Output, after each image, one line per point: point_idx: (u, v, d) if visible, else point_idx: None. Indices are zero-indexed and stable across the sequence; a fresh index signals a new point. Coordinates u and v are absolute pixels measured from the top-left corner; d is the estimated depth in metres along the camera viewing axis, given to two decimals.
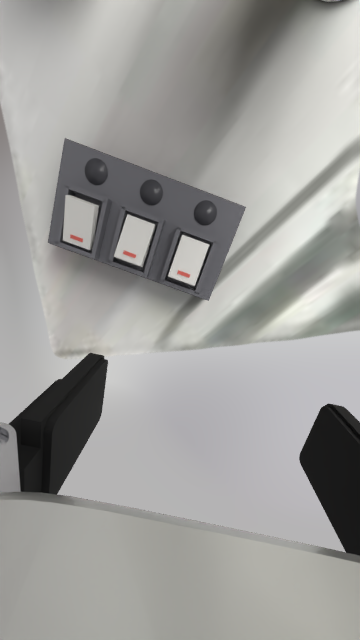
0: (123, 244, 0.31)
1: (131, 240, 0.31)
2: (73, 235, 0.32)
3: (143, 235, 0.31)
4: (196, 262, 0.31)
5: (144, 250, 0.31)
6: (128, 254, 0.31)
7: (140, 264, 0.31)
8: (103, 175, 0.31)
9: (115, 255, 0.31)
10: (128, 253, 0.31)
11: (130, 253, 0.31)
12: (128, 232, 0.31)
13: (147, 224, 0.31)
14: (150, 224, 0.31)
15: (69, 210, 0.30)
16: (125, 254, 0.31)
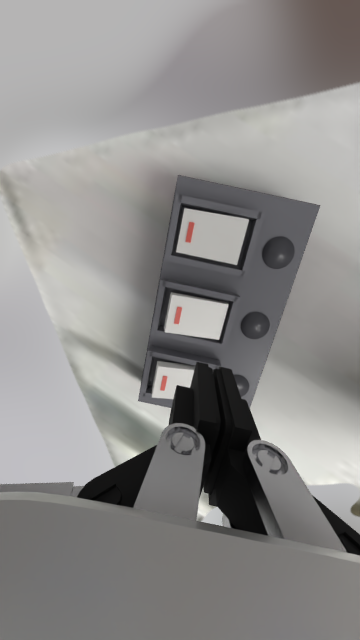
0: (189, 305, 0.23)
1: (195, 314, 0.23)
2: (193, 227, 0.21)
3: (204, 329, 0.24)
4: None
5: (185, 333, 0.23)
6: (177, 313, 0.23)
7: (166, 331, 0.23)
8: (274, 263, 0.23)
9: (173, 296, 0.22)
10: (178, 314, 0.23)
11: (179, 316, 0.23)
12: (206, 309, 0.23)
13: (218, 331, 0.24)
14: (218, 334, 0.24)
15: (227, 223, 0.20)
16: (177, 310, 0.23)
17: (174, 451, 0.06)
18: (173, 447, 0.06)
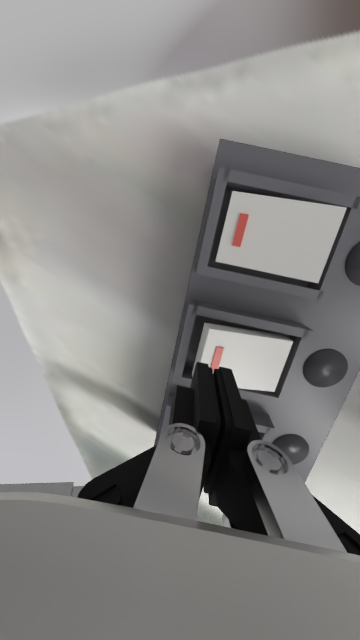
0: (235, 344, 0.14)
1: (243, 357, 0.15)
2: (247, 221, 0.13)
3: (254, 377, 0.16)
4: None
5: None
6: (215, 356, 0.15)
7: None
8: None
9: (211, 331, 0.14)
10: (217, 357, 0.15)
11: (218, 360, 0.15)
12: (259, 349, 0.15)
13: (274, 379, 0.16)
14: (274, 384, 0.16)
15: (307, 215, 0.12)
16: (215, 351, 0.14)
17: (174, 451, 0.06)
18: (173, 447, 0.06)
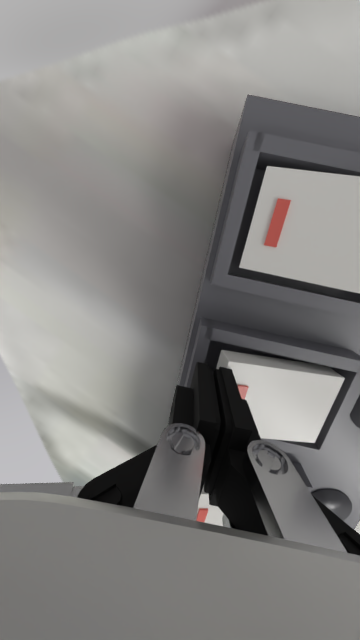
0: (264, 381, 0.10)
1: (275, 398, 0.11)
2: (287, 210, 0.09)
3: (288, 425, 0.11)
4: None
5: None
6: None
7: None
8: None
9: (231, 365, 0.10)
10: None
11: None
12: (297, 388, 0.11)
13: (315, 427, 0.12)
14: (315, 434, 0.12)
15: None
16: None
17: (174, 451, 0.06)
18: (173, 447, 0.06)
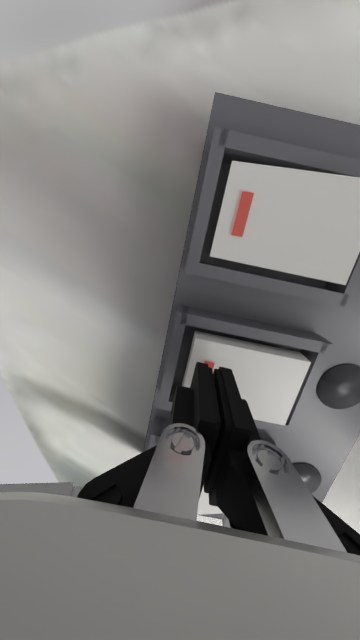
0: (229, 359, 0.11)
1: (241, 377, 0.12)
2: (251, 203, 0.10)
3: (257, 404, 0.12)
4: (208, 505, 0.15)
5: None
6: None
7: None
8: None
9: (198, 342, 0.11)
10: None
11: None
12: (262, 369, 0.12)
13: (284, 410, 0.12)
14: (284, 416, 0.12)
15: (333, 193, 0.09)
16: None
17: (174, 451, 0.06)
18: (173, 447, 0.06)
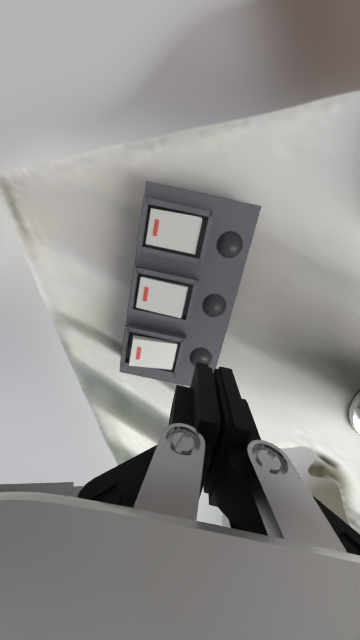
0: (154, 286, 0.28)
1: (160, 294, 0.28)
2: (158, 223, 0.26)
3: (167, 307, 0.28)
4: (152, 362, 0.31)
5: (152, 309, 0.29)
6: (145, 292, 0.28)
7: (137, 306, 0.29)
8: (227, 253, 0.29)
9: (141, 278, 0.28)
10: (146, 293, 0.28)
11: (146, 295, 0.29)
12: (168, 290, 0.28)
13: (179, 310, 0.28)
14: (179, 313, 0.28)
15: (185, 220, 0.25)
16: (145, 289, 0.28)
17: (174, 451, 0.06)
18: (173, 447, 0.06)
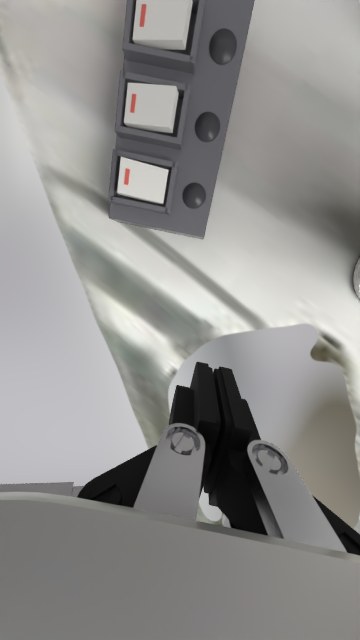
0: (142, 91, 0.26)
1: (148, 101, 0.26)
2: (145, 9, 0.24)
3: (156, 116, 0.27)
4: (142, 191, 0.29)
5: (140, 122, 0.27)
6: (133, 101, 0.27)
7: (125, 121, 0.28)
8: (220, 58, 0.27)
9: (129, 84, 0.27)
10: (133, 102, 0.27)
11: (134, 104, 0.27)
12: (156, 94, 0.26)
13: (168, 117, 0.26)
14: (168, 121, 0.26)
15: None
16: (132, 98, 0.27)
17: (174, 451, 0.06)
18: (173, 447, 0.06)
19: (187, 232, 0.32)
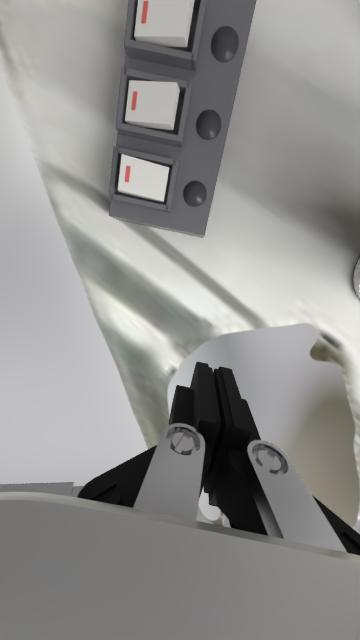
0: (143, 89, 0.26)
1: (148, 98, 0.26)
2: (147, 6, 0.24)
3: (156, 113, 0.27)
4: (143, 188, 0.29)
5: (141, 119, 0.27)
6: (134, 99, 0.27)
7: (126, 119, 0.28)
8: (222, 56, 0.27)
9: (130, 82, 0.27)
10: (135, 100, 0.27)
11: (135, 102, 0.27)
12: (157, 91, 0.26)
13: (168, 114, 0.26)
14: (169, 118, 0.26)
15: None
16: (133, 95, 0.27)
17: (174, 451, 0.06)
18: (173, 447, 0.06)
19: (187, 230, 0.32)
